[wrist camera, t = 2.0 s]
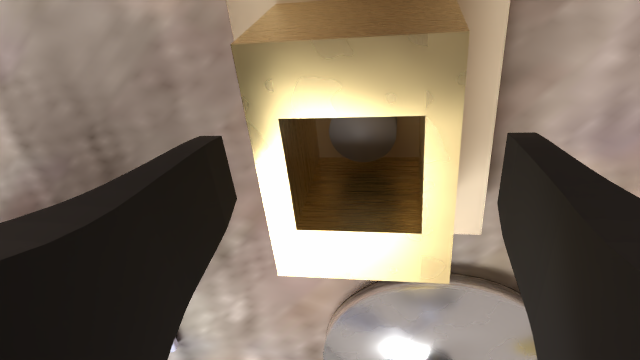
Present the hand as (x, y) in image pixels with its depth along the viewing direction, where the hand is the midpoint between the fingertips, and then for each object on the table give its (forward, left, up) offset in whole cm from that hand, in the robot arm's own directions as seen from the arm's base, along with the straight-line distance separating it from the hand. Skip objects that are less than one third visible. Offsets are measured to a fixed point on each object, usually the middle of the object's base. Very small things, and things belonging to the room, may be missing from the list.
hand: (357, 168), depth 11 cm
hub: (+3, -15, -6) cm, 16 cm away
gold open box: (0, 0, -4) cm, 4 cm away
